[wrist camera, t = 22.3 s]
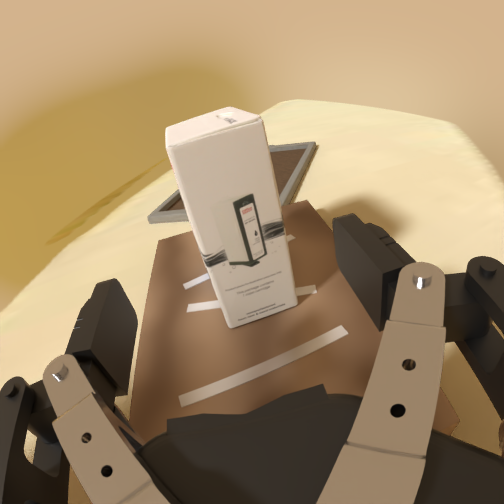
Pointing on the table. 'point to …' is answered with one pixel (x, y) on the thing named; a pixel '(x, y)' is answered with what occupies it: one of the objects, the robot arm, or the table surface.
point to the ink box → (234, 211)
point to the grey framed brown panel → (286, 174)
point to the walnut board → (252, 336)
